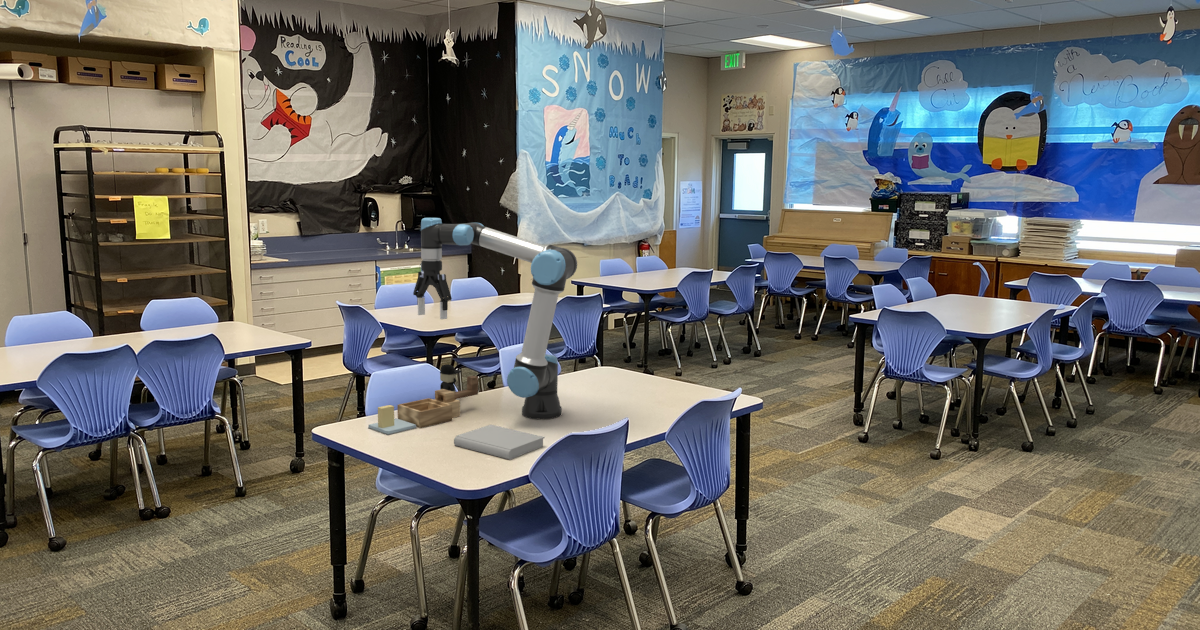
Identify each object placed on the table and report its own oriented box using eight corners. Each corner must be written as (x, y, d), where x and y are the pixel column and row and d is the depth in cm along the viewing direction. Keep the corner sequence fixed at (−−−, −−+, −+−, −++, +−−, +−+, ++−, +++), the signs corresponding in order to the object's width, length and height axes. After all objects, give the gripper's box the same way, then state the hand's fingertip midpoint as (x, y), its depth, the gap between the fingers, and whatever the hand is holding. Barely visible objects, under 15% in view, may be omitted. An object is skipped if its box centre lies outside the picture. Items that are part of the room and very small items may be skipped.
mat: (416, 428, 304) (416, 427, 304) (387, 435, 295) (387, 434, 295) (396, 421, 312) (396, 420, 312) (368, 428, 303) (368, 427, 303)
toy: (465, 400, 344) (465, 363, 342) (449, 404, 338) (448, 366, 336) (452, 397, 349) (452, 360, 347) (436, 400, 343) (436, 364, 340)
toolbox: (465, 417, 319) (465, 392, 317) (420, 428, 304) (420, 402, 303) (442, 410, 328) (441, 386, 327) (397, 420, 313) (397, 395, 312)
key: (478, 394, 329) (478, 376, 328) (446, 401, 318) (446, 382, 317) (473, 393, 331) (473, 375, 330) (441, 399, 320) (441, 381, 319)
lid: (416, 427, 304) (415, 405, 303) (387, 434, 295) (387, 411, 294) (396, 421, 312) (396, 399, 311) (368, 427, 303) (367, 405, 302)
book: (490, 424, 299) (544, 436, 285) (490, 434, 300) (544, 447, 286) (453, 436, 284) (508, 450, 271) (453, 447, 285) (508, 461, 271)
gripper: (461, 261, 311) (461, 319, 314) (419, 257, 327) (420, 312, 331) (444, 263, 305) (444, 321, 308) (403, 258, 322) (404, 313, 325)
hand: (432, 316), depth 320 cm, fingers open, 13 cm apart
